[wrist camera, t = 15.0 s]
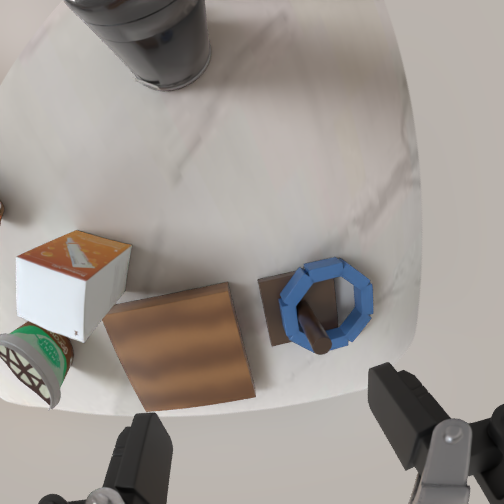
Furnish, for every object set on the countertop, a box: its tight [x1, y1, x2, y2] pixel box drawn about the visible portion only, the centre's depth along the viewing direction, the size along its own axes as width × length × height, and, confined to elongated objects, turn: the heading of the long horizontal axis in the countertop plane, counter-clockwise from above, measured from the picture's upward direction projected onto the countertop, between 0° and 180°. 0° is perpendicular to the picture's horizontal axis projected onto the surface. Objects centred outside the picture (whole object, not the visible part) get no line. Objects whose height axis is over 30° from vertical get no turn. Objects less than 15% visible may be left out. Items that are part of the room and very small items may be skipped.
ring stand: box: [258, 269, 338, 355], centre depth 33 cm, size 9×9×10 cm
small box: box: [16, 230, 132, 343], centre depth 28 cm, size 8×6×13 cm
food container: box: [0, 321, 74, 410], centre depth 31 cm, size 12×6×10 cm, turn 43°
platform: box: [102, 282, 256, 412], centre depth 36 cm, size 16×16×3 cm
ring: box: [279, 257, 373, 353], centre depth 35 cm, size 11×11×2 cm
